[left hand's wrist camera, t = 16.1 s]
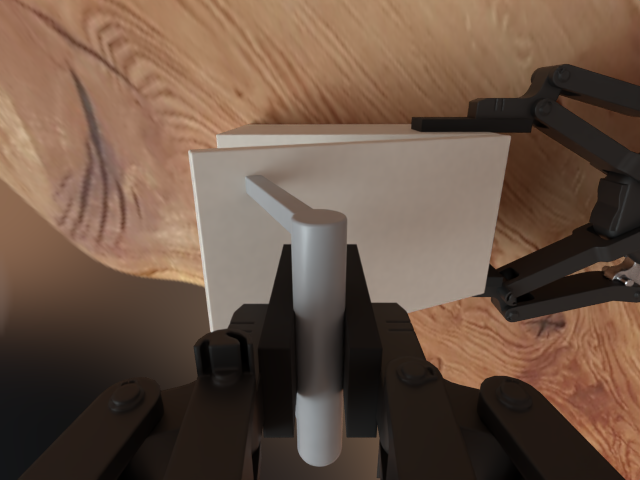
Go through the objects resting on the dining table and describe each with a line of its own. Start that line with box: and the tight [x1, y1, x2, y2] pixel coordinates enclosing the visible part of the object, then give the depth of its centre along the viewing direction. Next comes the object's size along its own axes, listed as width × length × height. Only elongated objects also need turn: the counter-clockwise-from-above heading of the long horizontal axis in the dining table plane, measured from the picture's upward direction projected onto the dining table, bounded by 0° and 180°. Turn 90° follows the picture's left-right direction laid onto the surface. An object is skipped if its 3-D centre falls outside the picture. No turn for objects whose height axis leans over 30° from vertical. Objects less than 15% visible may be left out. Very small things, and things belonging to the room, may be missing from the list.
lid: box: [188, 134, 511, 466], centre depth 16 cm, size 16×10×8 cm, turn 90°
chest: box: [216, 124, 497, 148], centre depth 27 cm, size 16×10×9 cm, turn 90°
